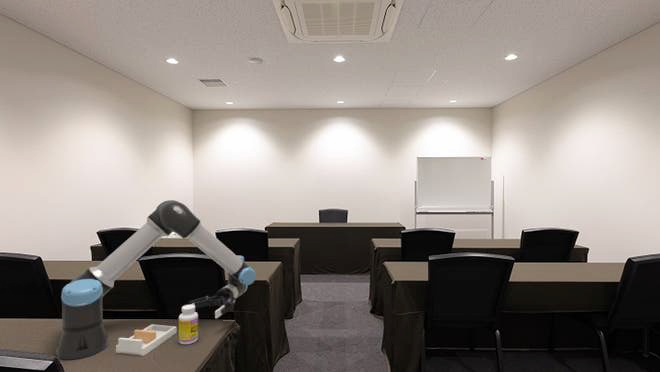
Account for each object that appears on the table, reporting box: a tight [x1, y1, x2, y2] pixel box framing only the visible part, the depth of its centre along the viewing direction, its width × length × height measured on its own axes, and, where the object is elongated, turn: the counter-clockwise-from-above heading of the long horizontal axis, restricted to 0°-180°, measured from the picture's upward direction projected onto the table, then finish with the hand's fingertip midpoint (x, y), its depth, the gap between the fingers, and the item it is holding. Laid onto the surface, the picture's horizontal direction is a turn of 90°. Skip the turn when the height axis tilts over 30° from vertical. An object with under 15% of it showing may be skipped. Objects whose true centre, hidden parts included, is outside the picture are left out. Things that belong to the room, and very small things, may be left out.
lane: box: [115, 323, 178, 357], centre depth 129 cm, size 11×18×5 cm, turn 169°
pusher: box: [133, 329, 156, 343], centre depth 127 cm, size 8×1×4 cm, turn 79°
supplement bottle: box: [178, 304, 199, 345], centre depth 130 cm, size 7×7×13 cm
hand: (199, 313), depth 136 cm, fingers open, 13 cm apart
